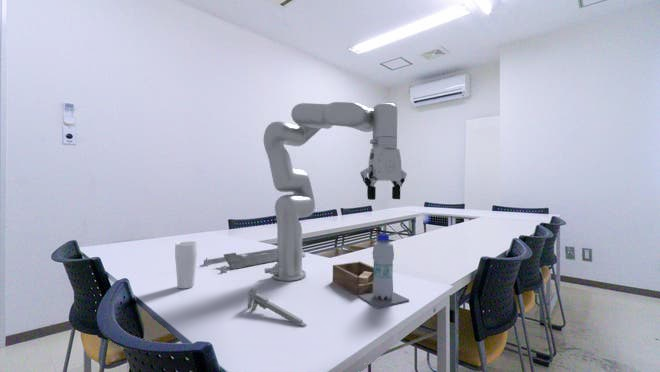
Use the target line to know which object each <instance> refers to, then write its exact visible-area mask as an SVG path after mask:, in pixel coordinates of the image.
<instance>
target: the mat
mask: <svg viewBox="0 0 660 372" xmlns="http://www.w3.org/2000/svg"><path fill="white" fill-rule="evenodd" d="M357 297H358V298H360V299H361V300H363V301H364V302H366V303H368V304H369V305H371V306H372V307H374V308H376V309H377V310H378V309H381V308H382V309H383V308H386V307H391V306H394V305H398V304H399V305H400V304H403V303H409V302H410V299H408V298H406V297H404V296H402V295H400V294H398V293H396V292H394V291H393V295H392V297H391V298H390V299H388V300H387V299H386V297H384V300H382V299H381V297H380V296H379V299H377V298H376V297H375V296H374V294H373V292H372V293H367V294H362V295H357Z"/></svg>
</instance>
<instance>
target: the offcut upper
mask: <svg viewBox="0 0 660 372" xmlns="http://www.w3.org/2000/svg"><path fill="white" fill-rule="evenodd" d="M372 280H373V272H366V271H364V272H363V273H362V274H361V275H360V276H359V285H360V284H365V283H370V282H371V281H372Z"/></svg>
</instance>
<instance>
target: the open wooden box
mask: <svg viewBox="0 0 660 372" xmlns="http://www.w3.org/2000/svg"><path fill="white" fill-rule="evenodd" d="M364 271H366V272H373V278H374V266H373V265H370V264H367V263H365V262H363V261H360V260H359V261H355V262H354V261H352V262H345V263H340V264H333V265H332V282H333V283H334V284H336V285H338V286H339V287H341V288H343V289H344V290H346V291H348V292H350V293H352V294H353V295H355V296H356V297H358V295H363V294H368V293H373V282H371V283H365V284H360V285H359V276H360V275H361V274H362V273H363V272H364Z"/></svg>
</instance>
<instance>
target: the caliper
mask: <svg viewBox="0 0 660 372" xmlns="http://www.w3.org/2000/svg"><path fill="white" fill-rule="evenodd" d="M257 291H258V289H257V288H256V289H255V287H254V286H253V287H250V290H248V293H247V309H250V308H251V310H252V311H254V310H257V307H258V306H259V307H260V308H262V309H264V310H265V309H269V311H272V312H274V313H276V314H277V315H278V316H281V318H283V319H285V320H287V321H289V322H290V323H293V324H294V325H296V326H301V327H303V328H304V327H307V323H305V322H303V319H302V318H300V317H298V316H296V315H294V314H293V313H291V312H290V311H288V310H285V309H284V308H282V307H280V306H279V305H277V304H275V303H273V302H271V301H270V300H269V298H267V297H266V296H264V295H262V294H261V293H258V292H257Z"/></svg>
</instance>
